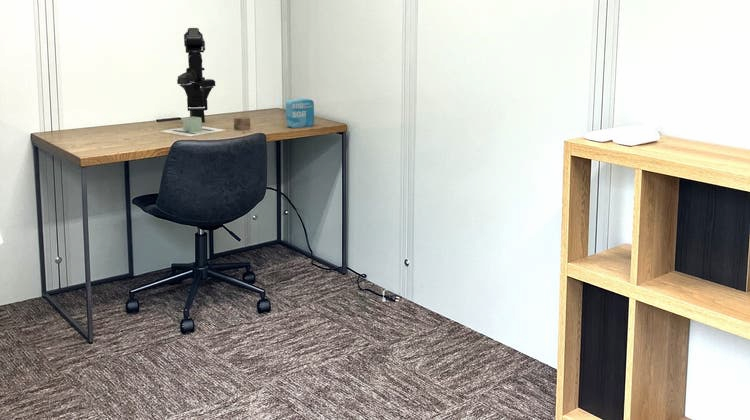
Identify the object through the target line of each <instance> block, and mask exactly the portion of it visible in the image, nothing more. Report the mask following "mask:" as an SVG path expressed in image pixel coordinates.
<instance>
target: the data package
mask: <svg viewBox="0 0 750 420" xmlns="http://www.w3.org/2000/svg"><path fill="white" fill-rule="evenodd" d="M285 123H286V126H287V127H288V128H292V129H299V128H307V127H308V128H309V127H312V126H314V125H315V102H314V101H313V99H308V98H301V99H300V98H299V99H289V100H287V101H286V103H285Z"/></svg>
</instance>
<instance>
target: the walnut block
mask: <svg viewBox="0 0 750 420" xmlns="http://www.w3.org/2000/svg"><path fill="white" fill-rule="evenodd" d="M233 130H237V131H242V132H241V134H242V133H243V134H244V133H246V131H247V133H249V132H251V131H250V130H251V117H246V116H245V117H244V116H240V117H233Z"/></svg>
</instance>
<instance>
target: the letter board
mask: <svg viewBox="0 0 750 420" xmlns="http://www.w3.org/2000/svg"><path fill="white" fill-rule="evenodd" d="M223 131H225V129H222V128H215V127H209V126H202V130H201V131H195V132H189V131H184V126H182V127H178V128H170V129H165V130H161V132H162V133H163V132H164V133H167V134H168V133H169V134H173V135H174V134H175V135H180V136H185V137H186V136H187V137H193V136H200V135H206V134H211V133H212V134H213V133H217V132H223Z"/></svg>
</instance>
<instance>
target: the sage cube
mask: <svg viewBox="0 0 750 420" xmlns="http://www.w3.org/2000/svg"><path fill="white" fill-rule="evenodd" d="M182 120H183V126H182V127H184V131H189V132H195V131H201V130H202V125H203V122H202V119H201V118H200V117H190V116H186V117H182Z"/></svg>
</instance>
